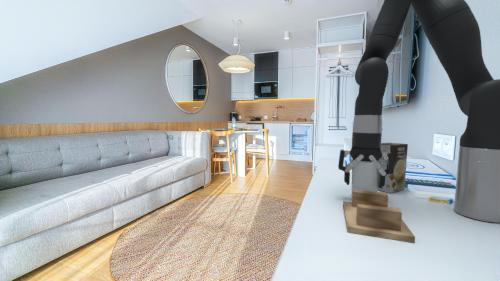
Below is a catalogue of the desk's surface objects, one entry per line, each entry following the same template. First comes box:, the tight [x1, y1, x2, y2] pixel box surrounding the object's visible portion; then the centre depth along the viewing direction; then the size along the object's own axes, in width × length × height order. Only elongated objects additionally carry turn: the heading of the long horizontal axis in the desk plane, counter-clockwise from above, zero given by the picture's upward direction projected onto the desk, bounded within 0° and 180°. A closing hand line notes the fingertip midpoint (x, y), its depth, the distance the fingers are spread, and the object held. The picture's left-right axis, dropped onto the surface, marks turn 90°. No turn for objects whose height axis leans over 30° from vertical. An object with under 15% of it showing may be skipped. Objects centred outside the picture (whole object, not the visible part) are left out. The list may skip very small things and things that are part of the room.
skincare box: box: [351, 160, 379, 192], centre depth 65 cm, size 6×4×12 cm
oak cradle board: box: [342, 189, 416, 244], centre depth 52 cm, size 12×16×5 cm
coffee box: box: [377, 142, 409, 194], centre depth 76 cm, size 9×6×16 cm
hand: (363, 185), depth 65 cm, fingers open, 8 cm apart
